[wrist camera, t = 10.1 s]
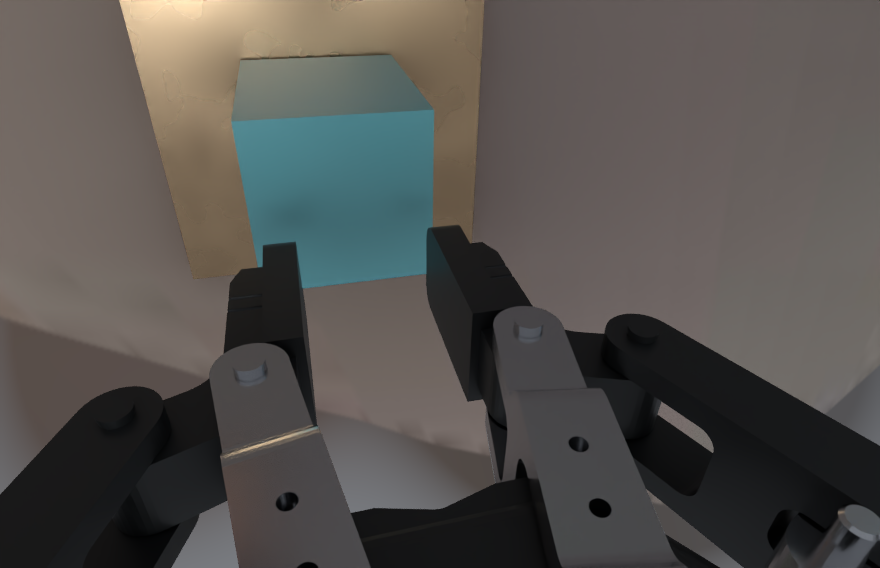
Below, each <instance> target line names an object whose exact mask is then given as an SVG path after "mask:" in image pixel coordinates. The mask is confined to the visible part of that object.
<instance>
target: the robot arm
mask: <svg viewBox="0 0 880 568" xmlns="http://www.w3.org/2000/svg"><path fill="white" fill-rule="evenodd" d="M426 286H427V295H428V301H429V305H430V308H431V311H432V313H433V316H434V318H435V321H436V323H437V326H438V329H439V331H440V334H441V336H442V339H443V341H444V344H445V346H446V349H447V351H448V354H449V356H450V359H451V361H452V364H453V366H454V369H455V371H456V374H457V376H458V379H459V381H460V384H461V386H462V389H463V391H464V394H465V396H466V399H467V401H468V402H469V401H475V400H480V399H483V400H484V402H485V405H486V418H485V426H486V431H487V437H488V443H489V449H490V455H491V461H492V466H493V472H494V478H495V484H493V485H491V486H489V487H487V488H485V489H483V490H481V491H479V492H476V493H474V494H473V495H470V496H468V497H466V498H464V499H462V500H460V501H458V502H456V503H454V504H451V505H449V506H448V507H445V508H443V509H436V510H428V509H386V508H373V509H368V510H364V511H359V512H354V513H350V510H349V507H348V504H347V502H346V499H345V496H344V493H343V491H342V488H341V485H340V483H339V480H338V477H337V474H336V472H335V469H334V466H333V463H332V461H331V458H330V456H329V453H328V450H327V447H326V444H325V442H324V439H323V436H322V434H321V431H320V429H319V427H318V425H317V420H316V410H315V400H314V390H313V379H312V369H311V359H310V348H309V338H308V328H307V318H306V310H305V302H304V295H303V288H302V281H301V274H300V267H299V260H298V253H297V246H296V241H295V242H286V243H277V244H267V245H263V267H257V268H248V269H241V270H240V271H239V273H238V274H237V275H236V276H235V278H234V279H233V280H232V281H231V283H230V289H229V301H228V313H227V322H226V333H225V344H224V354H223V355H221V356H220V357H219V358H218V359H217V360H216V361H215V362H214V364H213V365H212V367H211V369H210V373H209V379H208V380H207V381H205V382H204V383H202V384H201V385H199V386H197V387H195V388H194V389H191V390H189V391H187V392H184V393H181V394H179V395H176V396H174V397H171V398H168V399H165V400H162V398H161V396H160V395H159V394H158V393H157V392H155V391H154V390H152V389H149V388H145V387H137V386H133V387H125V388H119V389H115V390H112V391H109V392H106V393H104V394H102V395H100V396H97V397H96V398H94V399H92V400H91V401H89V402H88V403H87V404H85V405H84V406H83V407H82V408H81V409H80V410H79V411H78V412H77V413H76V414H75V415H74V416H73V417H72V418H71V419H70V420H69V421H68V423H66V425H65V426H64V427H63V428H62V429H61V430H60V431H59V432H58V433H57V434H56V435H55V436H54V437H53V438H52V440H51V441H50V442H49V443H48V444H47V445H46V446H45V447H44V448H43V449H42V450H41V451H40V453H39V454H38V455H37V456H36V457H35V458H34V459H33V460H32V461H31V462H30V463H29V464H28V465H27V467H26V468H25V469H24V470H23V471H22V472H21V473H20V474H19V475H18V476H17V477H16V478H15V479H14V480H13V481H12V483H11V484H10V485H9V486H8V487H7V488H6V489H5V490H4V491H3V492H2V493H1V494H0V568H171V567H172V565H173V564H174V562H175V560H176V558H177V557H178V555H179V553H180V551H181V549H182V548H183V546H184V545H185V543H186V541H187V539H188V538H189V536H190V534H191V532H192V530H193V529H194V527H195V525H196V523H197V521H198V518H199V514H200V513H202V512H204V511H206V510H209V509H211V508H213V507H215V506H217V505H219V504H221V503H223V502H225V501H227V500H228V506H229V511H230V518H231V523H232V529H233V535H234V541H235V547H236V552H237V558H238V564H239V568H720V567H718V566H716V565H714V564H713V563H711V562H710V561H708V560H706V559H705V558H703V557H702V556H700V555H698V554H697V553H695V552H693V551H692V550H690V549H689V548H687V547H685V546H684V545H682V544H680V543H679V542H677V541H675V540H674V539H672V538H671V537H669V536H667V535H666V534H665V533H664V530H663V528H662V526H661V523H660V521H659V519H658V516H657V514H656V511H655V509H654V507H653V504H652V502H651V500H650V497H649V495H648V493H647V490H648V491H650V492H651V493H652V494H653V495H654V496H656V497H657V498H658V499H659V500H661V501H662V502H663V503H664V504H666V505H667V506H668V507H669V508H671V509H672V510H673V511H674V512H676V513H677V514H678V515H679V516H680V517H682V518H683V519H684V520H685V521H687V522H688V523H689V524H690V525H692V526H693V527H694V528H695V529H697V530H698V531H699V532H700V533H702V534H703V535H704V536H705V537H707V538H708V539H709V540H710V541H711V542H713V543H714V544H715V545H716V546H718V547H719V548H720V549H721V550H723V551H724V552H725V553H726V554H727V555H729V556H730V557H731V558H732V559H734V560H735V561H736V562H737V563H739V564H740V565H741V566H742V567H744V568H880V446H879V445H877V444H876V443H874V442H872V441H870V440H868V439H867V438H865V437H863V436H861V435H860V434H858V433H856V432H855V431H853V430H851V429H849V428H848V427H846V426H844V425H842V424H841V423H839V422H837V421H835V420H833V419H832V418H830V417H828V416H827V415H825V414H823V413H821V412H820V411H818V410H816V409H814V408H813V407H811V406H809V405H807V404H806V403H804V402H802V401H800V400H799V399H797V398H795V397H793V396H792V395H790V394H788V393H786V392H785V391H783V390H781V389H779V388H778V387H776V386H774V385H772V384H771V383H769V382H767V381H765V380H764V379H762V378H760V377H758V376H757V375H755V374H753V373H751V372H750V371H748V370H746V369H744V368H743V367H741V366H739V365H737V364H736V363H734V362H732V361H730V360H729V359H727V358H725V357H723V356H721V355H720V354H718V353H716V352H714V351H713V350H711V349H709V348H707V347H706V346H704V345H702V344H700V343H699V342H697V341H695V340H693V339H692V338H690V337H688V336H686V335H685V334H683V333H681V332H679V331H678V330H676V329H674V328H672V327H671V326H669V325H667V324H665V323H664V322H662V321H660V320H658V319H655V318H653V317H649V316H646V315H641V314H623V315H619V316H616V317H614V318H612V319H611V320H610V321H609V322H608V323H607V325H606V328H605V333H604V334H598V333H584V332H574V331H568V330H564V327H563V325H562V323H561V321H560V320H559V319H558V318H557V317H556V316H555V315H553V314H551V313H550V312H548V311H546V310H543V309H540V308H536V307H533V306H532V305H531V303H530V301H529V300H528V298H527V297H526V295H525V294H524V292H523V291H522V289H521V288H520V286H519V285H518V283H517V281H516V280H515V278H514V277H512V274H511V272H510V271H509V269H508V268H507V267H506V266H505V263H504V261H503V260H502V258H501V257H500V255H499V254H498V252H497V251H495V250H494V249H492V248H490V247H489V246H487V245H486V244H484V243H483V242H479V243H470V242H469V240H468V239H467V237H466V235H465V233H464V232H463V230H462V228H461V227H460V225H449V226H439V227H430V228H428V229H427V236H426ZM661 401H662V402H663V403H665V404H666V405H668V406H669V407H671V408H672V409H674V410H675V411H677V412H678V413H680V414H681V415H682V416H684V417H685V418H687V419H688V420H690V421H691V422H693V423H694V424H696V425H697V426H699V427H700V428H701V429H703V430H704V431H705V432H706V433H707V435H708V436H709V437H710V439H711V441H712V443H713V447H714V452H713V453H712V452H710V451H709V450H707V449H706V448H704V447H703V446H702V445H700V444H699V443H697V442H696V441H694V440H693V439H692V438H690V437H689V436H687V435H686V434H684V433H683V432H682V431H680V430H679V429H677V428H676V427H674V426H673V425H672V424H670V423H669V422H667V421H666V420H664V419H663V418H661V417H660V416H659V415H657V414H658V411H659V408H660V404H661ZM646 489H647V490H646Z"/></svg>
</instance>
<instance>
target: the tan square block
mask: <svg viewBox="0 0 880 568" xmlns="http://www.w3.org/2000/svg"><path fill="white" fill-rule="evenodd" d="M119 1H120V4H121V8H122V12H123V16H124V19H125V23H126V27H127V31H128V34H129V38H130V42H131V46H132V49H133V53H134V57H135V61H136V65H137V68H138V72H139V76H140V80H141V83H142V87H143V91H144V95H145V98H146V102H147V106H148V110H149V113H150V117H151V121H152V125H153V128H154V132H155V136H156V140H157V144H158V147H159V151H160V155H161V159H162V162H163V166H164V170H165V174H166V177H167V181H168V185H169V189H170V192H171V196H172V200H173V204H174V207H175V211H176V215H177V219H178V223H179V226H180V230H181V234H182V238H183V241H184V245H185V249H186V253H187V256H188V260H189V264H190V268H191V271H192V275H193V279H200V278H209V277H217V276H226V275H235V274H238V273H239V271H240V270H241V269H248V268H257V267H258V265H257V259H256V254H255V248H254V243H253V238H252V232H251V227H250V221H249V216H248V210H247V205H246V200H245V194H244V189H243V183H242V178H241V172H240V167H239V162H238V156H237V151H236V145H235V140H234V134H233V129H232V123H231V119H232V112H233V106H234V99H235V92H236V86H237V79H238V72H239V66H240V60H261V59H288V58H316V57H343V56H370V55H392V57H393V58H394V59H395V60H396V62H397V63H398V64H399V66H400V67H401V68H402V69H403V71H404V72H405V73H406V74H407V76H408V77H409V78H410V80H411V81H412V82H413V83H414V85H415V86H416V87H417V89H418V90H419V91H420V92H421V94H422V95H423V96H424V97H425V99H426V100H427V101H428V103H429V104H430V105H431V106H432V108H433V109H434V157H433V227H439V226H449V225H460V227H461V228H462V230H463V232H464V233H465V235H466V237H467V239H468V240H469V242H470V243H472V230H473V210H474V191H475V171H476V152H477V132H478V113H479V93H480V74H481V54H482V35H483V16H484V0H119Z"/></svg>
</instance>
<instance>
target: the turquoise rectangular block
mask: <svg viewBox="0 0 880 568" xmlns="http://www.w3.org/2000/svg"><path fill="white" fill-rule="evenodd" d="M231 123H232V129H233V134H234V140H235V145H236V151H237V156H238V162H239V167H240V172H241V178H242V183H243V189H244V194H245V200H246V205H247V210H248V216H249V221H250V227H251V232H252V238H253V243H254V248H255V254H256V259H257V265H258V267H263V245H267V244H277V243H286V242H295V241H296V246H297V253H298V260H299V267H300V274H301V281H302V288H311V287H320V286H328V285H337V284H345V283H353V282H362V281H370V280H379V279H387V278H395V277H404V276H412V275H420V274H426V236H427V229H428V228H430V227H433V157H434V109H433V108H432V106H431V105H430V104H429V103H428V101H427V100H426V99H425V97H424V96H423V95H422V94H421V92H420V91H419V90H418V89H417V87H416V86H415V85H414V83H413V82H412V81H411V80H410V78H409V77H408V76H407V74H406V73H405V72H404V71H403V69H402V68H401V67H400V66H399V64H398V63H397V62H396V60H395V59H394V58H393V57H392V55H370V56H343V57H316V58H288V59H261V60H240V66H239V72H238V79H237V86H236V92H235V99H234V106H233V112H232V119H231Z"/></svg>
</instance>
